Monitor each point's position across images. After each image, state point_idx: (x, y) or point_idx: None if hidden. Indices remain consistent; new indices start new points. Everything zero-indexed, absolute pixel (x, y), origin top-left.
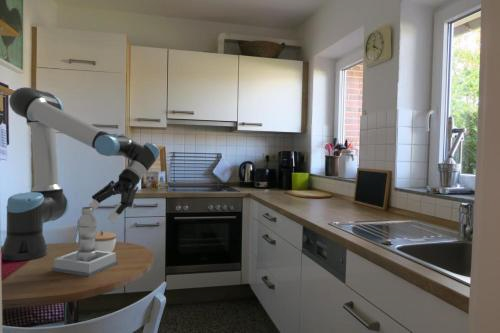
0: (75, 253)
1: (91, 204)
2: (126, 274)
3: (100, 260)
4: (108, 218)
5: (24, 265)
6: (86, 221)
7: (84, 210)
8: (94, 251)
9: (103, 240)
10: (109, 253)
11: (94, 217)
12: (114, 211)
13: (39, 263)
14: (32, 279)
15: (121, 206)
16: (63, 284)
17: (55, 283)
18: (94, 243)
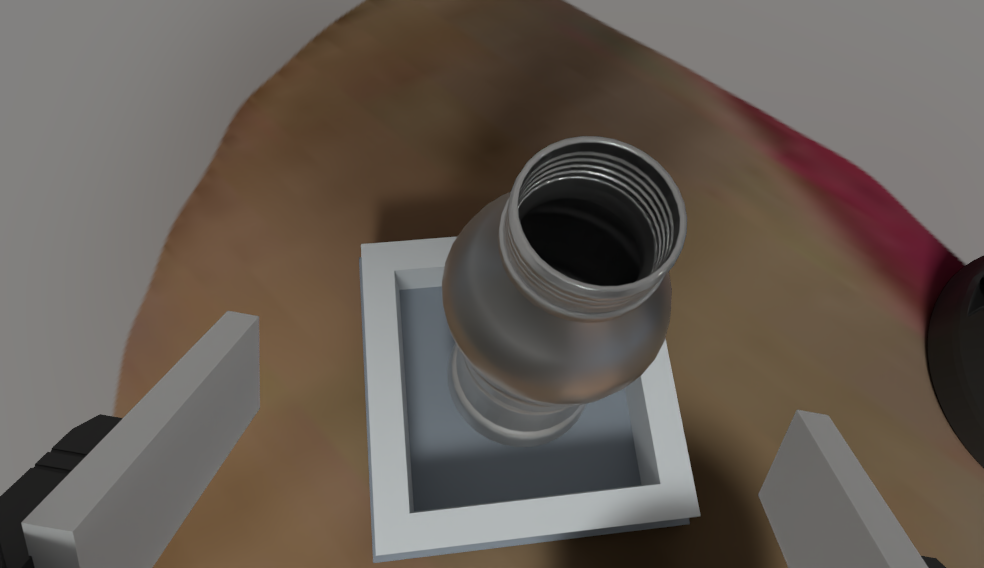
0: (641, 384)
1: (891, 554)
2: None
3: (368, 359)
4: (237, 318)
5: (841, 239)
6: (492, 203)
7: (567, 150)
8: (458, 383)
9: None
10: (412, 513)
11: (492, 315)
12: (154, 393)
13: (813, 303)
14: (589, 115)
15: (8, 513)
16: (396, 129)
17: (442, 123)
18: (466, 376)
